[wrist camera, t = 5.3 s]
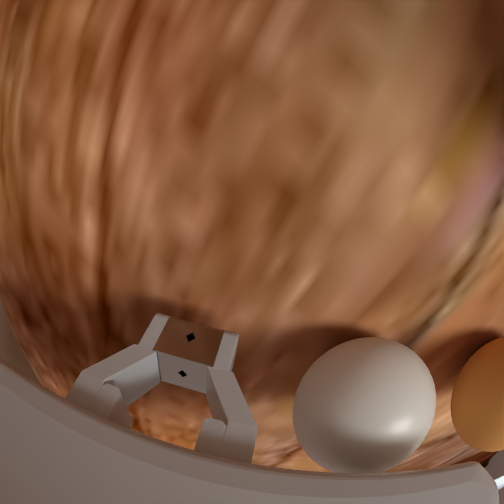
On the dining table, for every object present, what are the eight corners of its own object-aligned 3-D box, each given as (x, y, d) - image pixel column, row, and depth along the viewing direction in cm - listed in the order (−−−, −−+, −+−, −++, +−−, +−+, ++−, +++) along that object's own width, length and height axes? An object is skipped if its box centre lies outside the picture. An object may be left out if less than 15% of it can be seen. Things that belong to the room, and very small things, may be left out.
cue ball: (475, 448, 6) (447, 324, 10) (335, 453, 5) (334, 289, 10) (379, 484, 9) (377, 386, 13) (263, 479, 9) (279, 366, 13)
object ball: (481, 336, 8) (561, 428, 4) (514, 299, 10) (575, 364, 6) (410, 416, 11) (470, 490, 7) (461, 371, 13) (511, 428, 9)
